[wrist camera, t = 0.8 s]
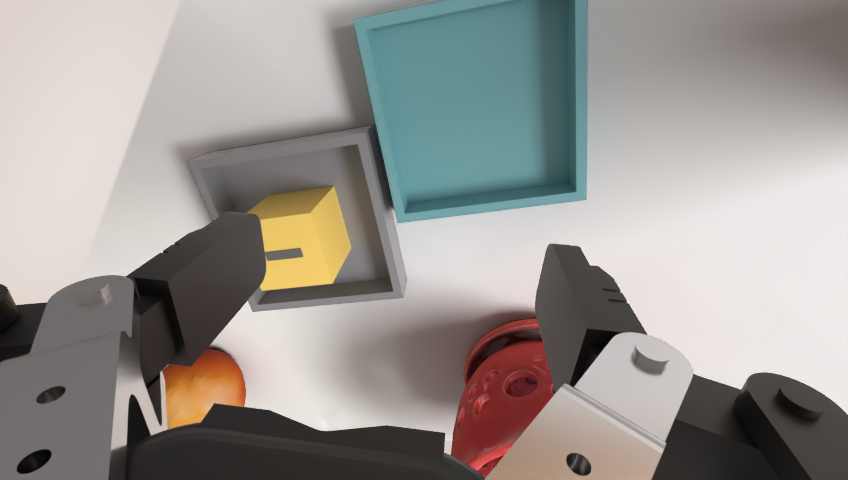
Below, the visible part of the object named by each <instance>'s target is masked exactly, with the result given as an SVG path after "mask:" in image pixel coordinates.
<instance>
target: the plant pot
mask: <svg viewBox="0 0 848 480" xmlns="http://www.w3.org/2000/svg"><path fill="white" fill-rule="evenodd" d="M464 381H465V385H466V388H465V390H464V393H463V395H462V398H461V401H460V404H459V408H458V412H457V417H456V422H455V426H454V431H453V441H452V450H451V456H453V457H455V458H457V459H459V460H461V461H463V462H465V463H466V464H468V465H470V466H471V467H473V468H474V469H475V470H477V471H478V472H480V473H481V474H482V475H483V476H484V477H487V476H488V475H489V473H490V472H491V471H492V470H493V469H494V467H495V466H496V465H497V464H498V463H499V461H500V460H501V459H502V458H503V456H504V455H505V454H506V453H507V452H508V450H509V449H510V448H511V447H512V446H513V444H514V443H515V442H516V441H517V440H518V438H519V437H520V436H521V435H522V433H523V432H524V431H525V430H526V429H527V427H528V426H529V425H530V424H531V423H532V421H533V420H534V419H535V418H536V416H537V415H538V414H539V413H540V412H541V410H542V409H543V408H544V407H545V406H546V404H547V403H548V402H549V401H550V400H551V398H552V397H553V396H554V395H555V390H554V386H553V382H552V378H551V374H550V370H549V366H548V362H547V358H546V354H545V350H544V346H543V342H542V338H541V334H540V330H539V325H538V321H537V319H527V320H520V321H515V322H511V323H508V324H505V325H502V326H500V327H498V328H496V329H494V330H492V331H491V332H489V333H487V334H486V335H484V336H483V337H482V338H481V339H480V340H479V341H478V342H477V344H476V345H475V346H474V347H473V349H472V350H471V352H470V354H469V356H468V357H467V360H466V363H465V368H464ZM651 480H652V479H651Z"/></svg>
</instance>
